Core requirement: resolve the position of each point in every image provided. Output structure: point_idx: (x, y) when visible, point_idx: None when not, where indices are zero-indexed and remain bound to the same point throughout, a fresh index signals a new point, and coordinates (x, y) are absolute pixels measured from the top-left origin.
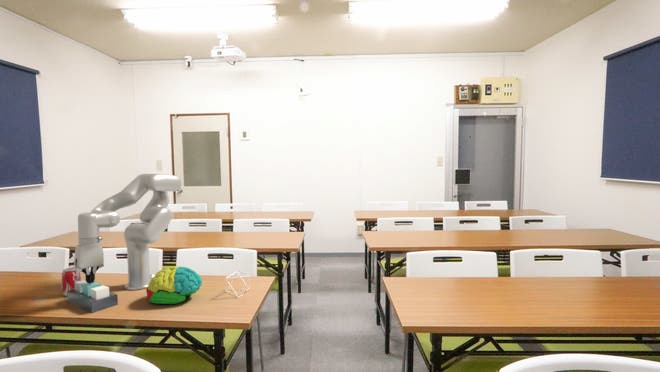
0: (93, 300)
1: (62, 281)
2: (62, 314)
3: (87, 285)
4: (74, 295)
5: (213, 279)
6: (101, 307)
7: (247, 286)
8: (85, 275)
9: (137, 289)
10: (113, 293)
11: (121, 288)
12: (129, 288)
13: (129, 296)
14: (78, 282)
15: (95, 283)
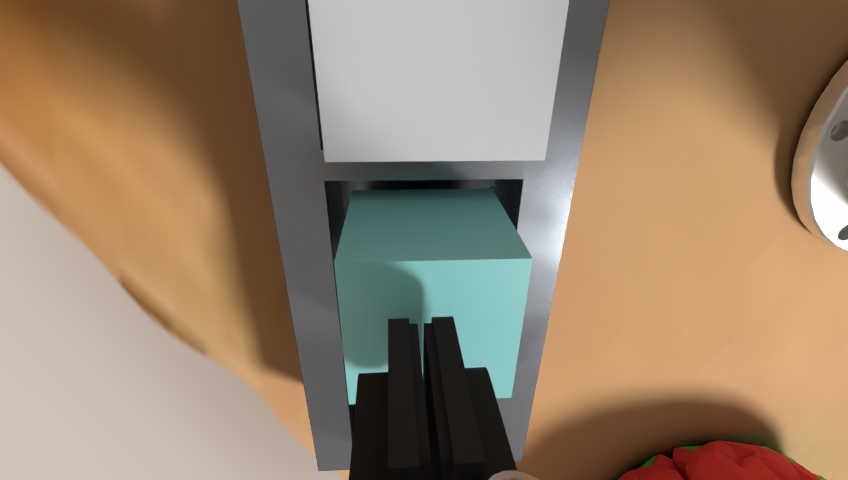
0: (341, 454)
1: None
2: (165, 267)
3: (372, 350)
4: (267, 154)
5: None
6: None
7: None
8: (349, 473)
9: (807, 228)
10: (520, 427)
11: (831, 22)
12: (803, 174)
13: (650, 311)
14: (347, 10)
15: (479, 351)
